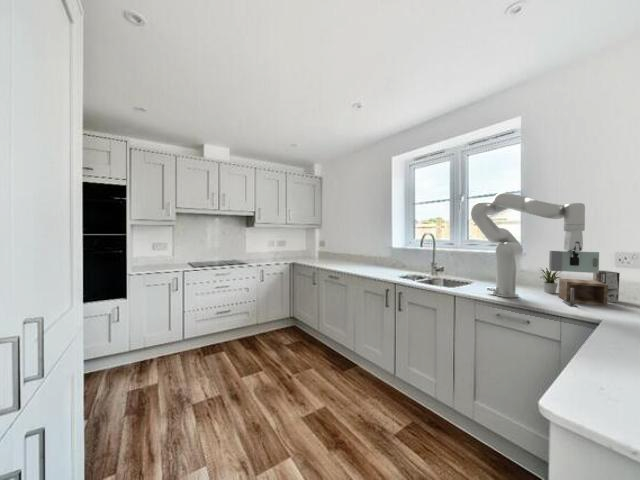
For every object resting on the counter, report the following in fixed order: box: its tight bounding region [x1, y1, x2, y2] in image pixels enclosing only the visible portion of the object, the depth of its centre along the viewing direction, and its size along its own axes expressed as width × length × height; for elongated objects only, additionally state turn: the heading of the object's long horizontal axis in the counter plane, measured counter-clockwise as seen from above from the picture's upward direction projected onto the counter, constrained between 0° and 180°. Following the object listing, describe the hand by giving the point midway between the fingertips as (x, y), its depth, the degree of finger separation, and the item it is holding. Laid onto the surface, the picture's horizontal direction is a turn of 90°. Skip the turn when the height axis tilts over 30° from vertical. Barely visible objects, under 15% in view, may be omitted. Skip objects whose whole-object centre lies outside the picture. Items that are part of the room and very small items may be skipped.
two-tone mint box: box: [548, 250, 600, 274], centre depth 133 cm, size 18×4×10 cm, turn 61°
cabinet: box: [558, 277, 608, 308], centre depth 142 cm, size 18×22×11 cm
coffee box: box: [592, 270, 620, 303], centre depth 149 cm, size 9×6×16 cm
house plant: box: [537, 267, 563, 294], centre depth 168 cm, size 14×14×16 cm
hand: (573, 264), depth 133 cm, fingers closed on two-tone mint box, 2 cm apart
